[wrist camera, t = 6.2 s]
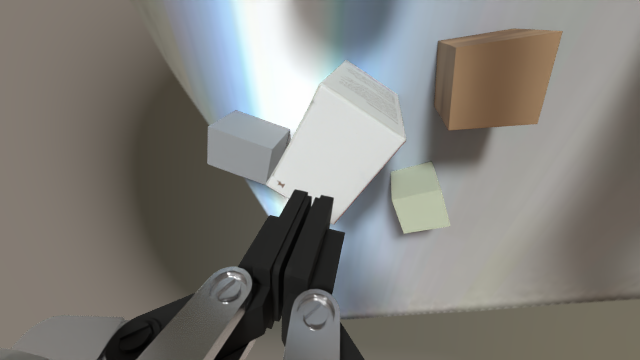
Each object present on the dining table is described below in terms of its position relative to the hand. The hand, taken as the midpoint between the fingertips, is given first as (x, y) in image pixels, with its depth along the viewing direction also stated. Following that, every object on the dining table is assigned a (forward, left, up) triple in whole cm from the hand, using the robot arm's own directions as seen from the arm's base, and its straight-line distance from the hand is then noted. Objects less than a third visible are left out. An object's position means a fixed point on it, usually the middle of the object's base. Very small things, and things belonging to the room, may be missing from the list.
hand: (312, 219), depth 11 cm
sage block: (-8, +6, -16) cm, 18 cm away
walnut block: (-9, -5, -16) cm, 18 cm away
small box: (0, 0, -16) cm, 16 cm away
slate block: (+9, +4, -16) cm, 19 cm away
